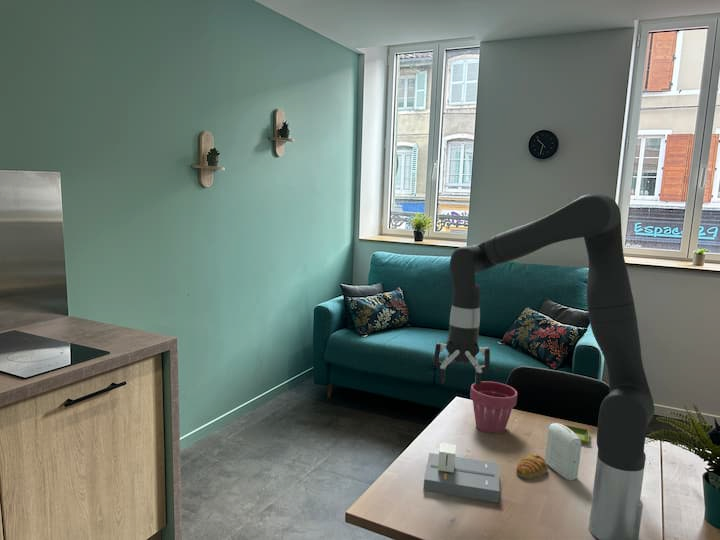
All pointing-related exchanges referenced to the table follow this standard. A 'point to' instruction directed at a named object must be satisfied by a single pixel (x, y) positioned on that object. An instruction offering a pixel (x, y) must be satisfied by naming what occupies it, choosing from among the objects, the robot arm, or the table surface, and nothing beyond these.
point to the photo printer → (563, 451)
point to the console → (464, 479)
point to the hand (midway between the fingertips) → (459, 383)
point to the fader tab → (447, 457)
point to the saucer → (580, 433)
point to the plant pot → (492, 405)
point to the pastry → (532, 467)
